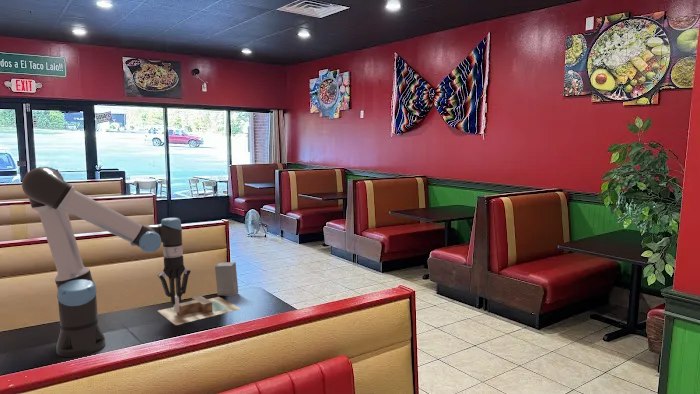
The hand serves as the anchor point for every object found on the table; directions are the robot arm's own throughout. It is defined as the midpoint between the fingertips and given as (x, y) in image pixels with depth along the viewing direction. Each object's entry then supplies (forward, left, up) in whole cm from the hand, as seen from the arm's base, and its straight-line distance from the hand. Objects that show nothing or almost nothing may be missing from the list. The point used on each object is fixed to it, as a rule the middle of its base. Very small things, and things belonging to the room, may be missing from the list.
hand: (176, 311), depth 196 cm
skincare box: (+29, +13, -3) cm, 32 cm away
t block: (+7, 0, -2) cm, 7 cm away
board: (+10, 0, -3) cm, 10 cm away
